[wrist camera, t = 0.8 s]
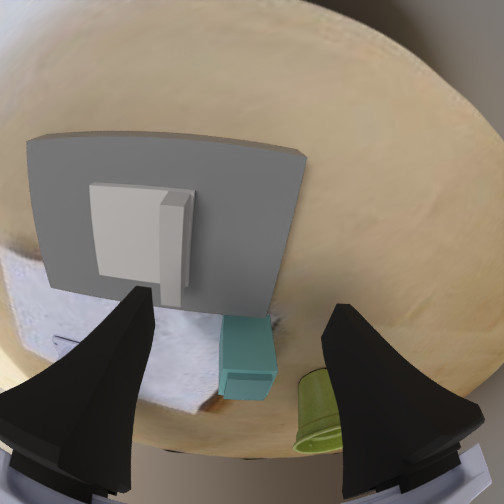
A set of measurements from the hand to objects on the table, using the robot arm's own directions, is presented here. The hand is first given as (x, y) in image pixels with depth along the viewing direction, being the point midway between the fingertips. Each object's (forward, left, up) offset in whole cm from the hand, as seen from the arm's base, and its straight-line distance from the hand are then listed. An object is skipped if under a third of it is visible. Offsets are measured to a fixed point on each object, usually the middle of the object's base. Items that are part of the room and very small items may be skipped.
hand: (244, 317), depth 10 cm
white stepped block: (-1, +6, -7) cm, 9 cm away
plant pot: (-20, -13, -10) cm, 26 cm away
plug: (-11, -2, -10) cm, 15 cm away
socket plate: (-1, +6, -10) cm, 11 cm away
